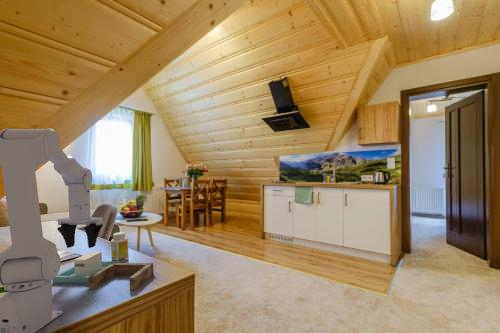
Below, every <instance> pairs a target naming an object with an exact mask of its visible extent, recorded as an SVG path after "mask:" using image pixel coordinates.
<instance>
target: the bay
mask: <svg viewBox="0 0 500 333" xmlns="http://www.w3.org/2000/svg"><path fill="white" fill-rule="evenodd" d="M154 272H155V271H154V262H120V263H112V264H110V265H108V266H107V267H105V268H103V269H101V270H100V271H98V272H96V273H95V274H93V275H91V276H90V277H88V279H89V284H88V290H95V289H97V288H98V287H99V286H101V285H102V284H103V285H104V284H105V283H106V282H107V281H109V280H110V279H111V278H113V277H114V276H116V277H117V276H119V277H120V276H121V277H123V276H124V277H126V276H127V277H128V278H129V291H136V290H137V289H138V288H139V287H140V286H142V285H143V284H145V283H146V282H147V280H148V279H150V278H151V277H152V276H153V275H154ZM129 276H130V277H129Z"/></svg>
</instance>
